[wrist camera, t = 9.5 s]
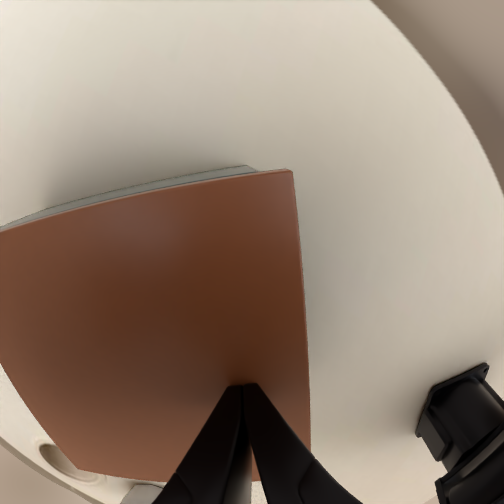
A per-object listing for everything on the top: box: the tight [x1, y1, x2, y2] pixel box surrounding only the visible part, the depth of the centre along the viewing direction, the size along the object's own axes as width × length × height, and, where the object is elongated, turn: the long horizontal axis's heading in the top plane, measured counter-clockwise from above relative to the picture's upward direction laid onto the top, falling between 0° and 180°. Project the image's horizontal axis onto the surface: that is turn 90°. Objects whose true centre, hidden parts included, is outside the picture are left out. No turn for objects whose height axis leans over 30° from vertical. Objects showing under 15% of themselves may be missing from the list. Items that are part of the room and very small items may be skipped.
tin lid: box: [0, 169, 311, 482], centre depth 8 cm, size 11×12×1 cm
